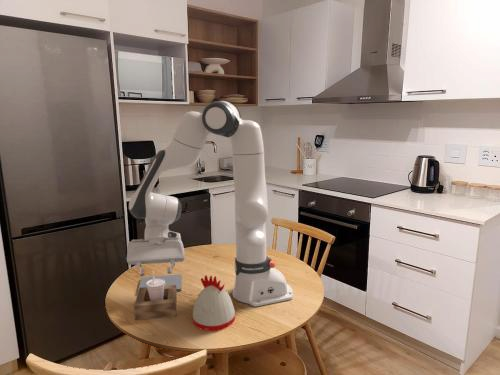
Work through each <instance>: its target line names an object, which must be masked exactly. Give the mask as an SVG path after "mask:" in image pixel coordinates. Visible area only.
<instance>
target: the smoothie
mask: <svg viewBox="0 0 500 375" xmlns="http://www.w3.org/2000/svg"><path fill="white" fill-rule="evenodd" d="M154 276H155V270H152V277H153V279H151V280H149V281H148V282H147V283H146V287H147V288H148V293H149V298H150V301H157V300H163V296H164V286H165V280H163V279H159V278H157V279H155V278H154Z"/></svg>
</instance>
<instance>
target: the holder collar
mask: <svg viewBox="0 0 500 375" xmlns="http://www.w3.org/2000/svg"><path fill="white" fill-rule="evenodd" d="M138 288H139V287H138ZM137 292H138V294H136V299H135V303H134V306H133V308H134V317H135V321H139V320H141V321H142V320H151V319H160V318H171V317H172V318H173V317H176V315H177V303H178V302H177V300H178V299H177V297H178V296H177V292H176V285H167V286H164V296H163V300H157V301H150V298H149V293H148V288H147V287H143V288H139V291H138V290H137Z"/></svg>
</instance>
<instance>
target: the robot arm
mask: <svg viewBox="0 0 500 375" xmlns="http://www.w3.org/2000/svg"><path fill="white" fill-rule="evenodd" d="M212 134H213V135H217V136H221V137H224V138H229V140H230V144H231V153H232V154H231V156H232V174H233V185H234V186H233V188H234V215H235V216H234V217H235V219H234V220H235V258H234V273H235V279H234V285H233V289H232V297H233V298H234V299H235V300H236V301H238V302H240V303H245V304H248V305H250V306H252V307H260V306H266V305H270V304H275V303H279V302H284V301H290V300H292V299H293V298H294V290H293V289H292V287H291V285H290V284H288V282H287V280H286V278H285V275H284V274H283V273H282V272H281V271H280V270H278V269H276V268H275V266H276V263H275V261H274V260H272V259H271V258H270V256H268V255H267V228H266V221H267V220H268V215H269V205H268V204H269V202H268V192H267V191H268V190H267V180H266V168H265V166H266V165H265V148H264V139H263V132H262V129H261V126H260V124H259V123H258V122H256V121H254V120H251V119H242V116H241V112H240V110H239V108H238V107H237V106H236V104H235V105H234V104H233V103H231V102H229V101H226V100H215V101H212V102H210V103H207V105H206V106H205V107H204V109H203V111H202V113H201V112H199V111H194V110H191V111H187V112H185V113H184V115H183V116H182V117H181V119H180V121H179V123H178V124H177V127H176V129H175V131H174V135H173V137H172V140H171V142H170V143H169V144H168V145H167V147H165V148H164V149H162V150H158V152H157V153H156V154H155V156H154V157H153V159H152V161H151V163H150V164H149V166H148V168H147V170H146V172H145V174H144V176H143V177H142V179H141V181H140V183H139V185H138V186H137V188H136V189H135V191H134V192H133V194H132V196H131V197H130V199H129V201H128V211H129V213H130V214H131V215H132V216H133V218H135V219H139V220H140V219H142V220H145V221H144V222H145V229H144V238H139V239H131V241H128V243H127V245H126V250H127V254H126V262H127V264H128V265H129V266H136V267H137V269H138V271H139V276H140V277H144V276H145V275H146V274H145V269H142V265H149V264H150V265H151V264H164V263H167V264H168V263H170V266H169V267H167V268H166V269H167V271H166V272H167V275H173V268H174V267H175V266H176V263H181V262H184V260H185V259H186V258H185V249H184V244H183V241H182V236H181V233H179V232H175V231H172V230H170V229H169V225H172V224H174V223H175V222H177V221H178V220H179V219H180V218H181V215H182V203H181V201H180V200H179V198H178V197H175V196H171V195H166V194H160V193H156V192H152V191H153V189H154V187H155V185H156V183H157V182H158V180H159V178H160V176H161V175H162V174H163V173H165V172H168V171H171V170H176V169H177V170H178V169H184V168H188V167H191V166H193V165H195V164H197V162H198V161H199V159H200V158H201V155H202V154H203V150H204V148H205V144H206V141H207V140H208V138H209V136H210V135H212Z"/></svg>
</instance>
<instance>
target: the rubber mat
mask: <svg viewBox="0 0 500 375" xmlns="http://www.w3.org/2000/svg"><path fill="white" fill-rule="evenodd" d="M154 278H155V279H157V278H159V279H163V280H165V286H167V285H176V292H182V273H181V274H167V275H156V276H155V275H154ZM151 279H153V276H145V277H144V276H141V278H140V280H139V281H140V282H139V285H138V288H137V294H136V295H138V291H139V288H143V287H146V283H147V282H148V281H149V280H151Z"/></svg>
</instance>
